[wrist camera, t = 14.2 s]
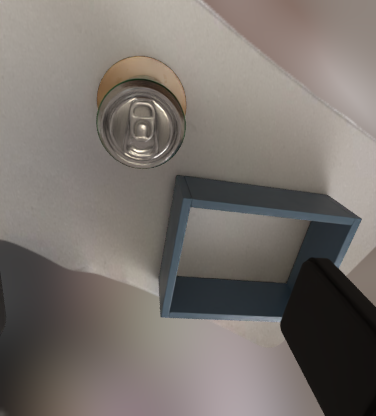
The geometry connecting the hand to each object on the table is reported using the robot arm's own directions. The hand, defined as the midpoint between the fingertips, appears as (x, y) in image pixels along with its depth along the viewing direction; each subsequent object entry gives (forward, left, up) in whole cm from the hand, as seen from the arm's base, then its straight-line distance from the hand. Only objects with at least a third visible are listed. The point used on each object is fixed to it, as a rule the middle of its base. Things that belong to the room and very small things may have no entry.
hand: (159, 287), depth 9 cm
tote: (+12, -10, -21) cm, 26 cm away
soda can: (-1, +3, -21) cm, 21 cm away
